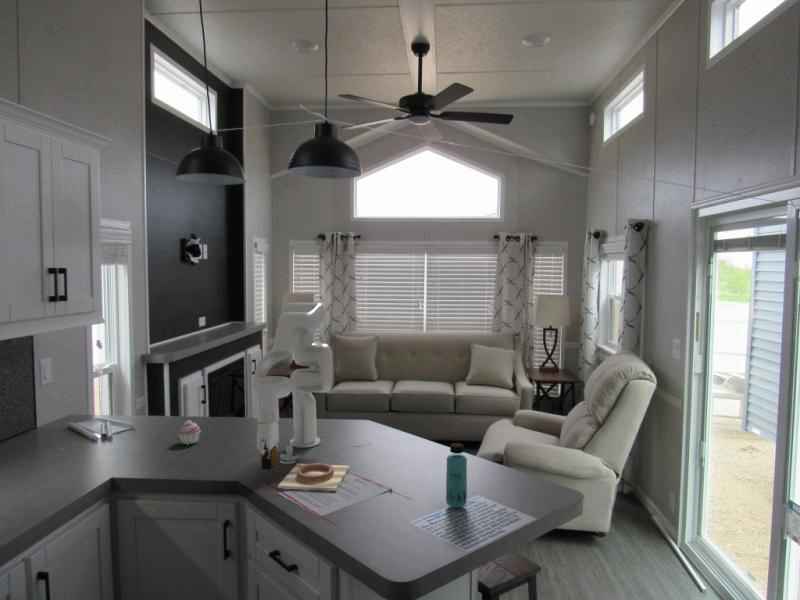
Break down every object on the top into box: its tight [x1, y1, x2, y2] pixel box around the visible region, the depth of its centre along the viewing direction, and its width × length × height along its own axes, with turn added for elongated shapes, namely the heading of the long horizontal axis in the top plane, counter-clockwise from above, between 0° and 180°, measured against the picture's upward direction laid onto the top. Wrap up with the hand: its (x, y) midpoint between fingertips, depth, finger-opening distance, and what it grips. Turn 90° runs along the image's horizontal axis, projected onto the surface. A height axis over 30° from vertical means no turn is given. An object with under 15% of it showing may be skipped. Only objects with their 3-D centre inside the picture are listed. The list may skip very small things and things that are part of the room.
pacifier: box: [278, 444, 300, 465], centre depth 207 cm, size 7×6×6 cm
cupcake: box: [177, 419, 202, 445], centre depth 229 cm, size 9×9×10 cm
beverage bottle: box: [445, 442, 468, 508], centre depth 166 cm, size 6×7×20 cm
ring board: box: [277, 462, 351, 492], centre depth 190 cm, size 20×20×3 cm
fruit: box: [264, 447, 280, 469], centre depth 193 cm, size 6×6×8 cm
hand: (270, 464), depth 193 cm, fingers closed on fruit, 6 cm apart
